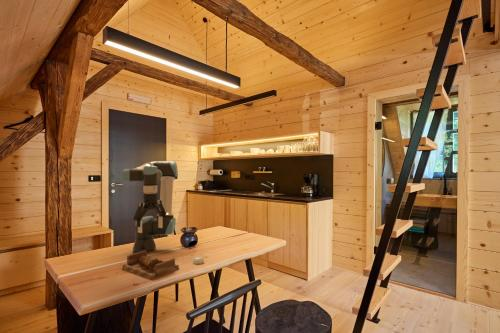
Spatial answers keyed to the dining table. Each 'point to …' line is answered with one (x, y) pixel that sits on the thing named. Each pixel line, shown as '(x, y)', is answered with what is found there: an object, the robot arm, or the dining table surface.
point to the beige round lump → (198, 260)
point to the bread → (148, 261)
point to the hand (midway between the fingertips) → (150, 230)
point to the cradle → (142, 270)
